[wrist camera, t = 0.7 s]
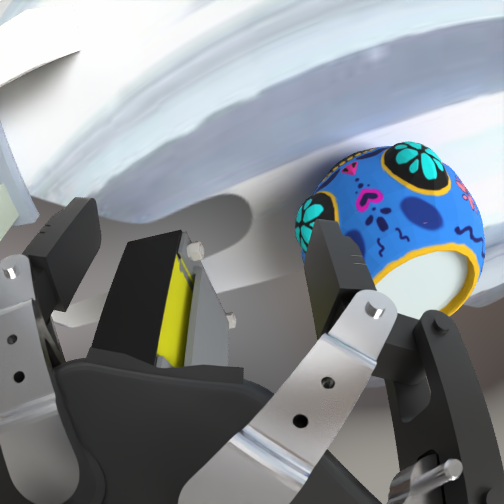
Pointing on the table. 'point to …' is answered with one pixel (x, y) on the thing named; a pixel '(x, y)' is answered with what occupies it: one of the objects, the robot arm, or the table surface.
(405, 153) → the ceramic pot
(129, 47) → the table surface
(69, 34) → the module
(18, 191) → the mounting plate
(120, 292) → the electrical component
